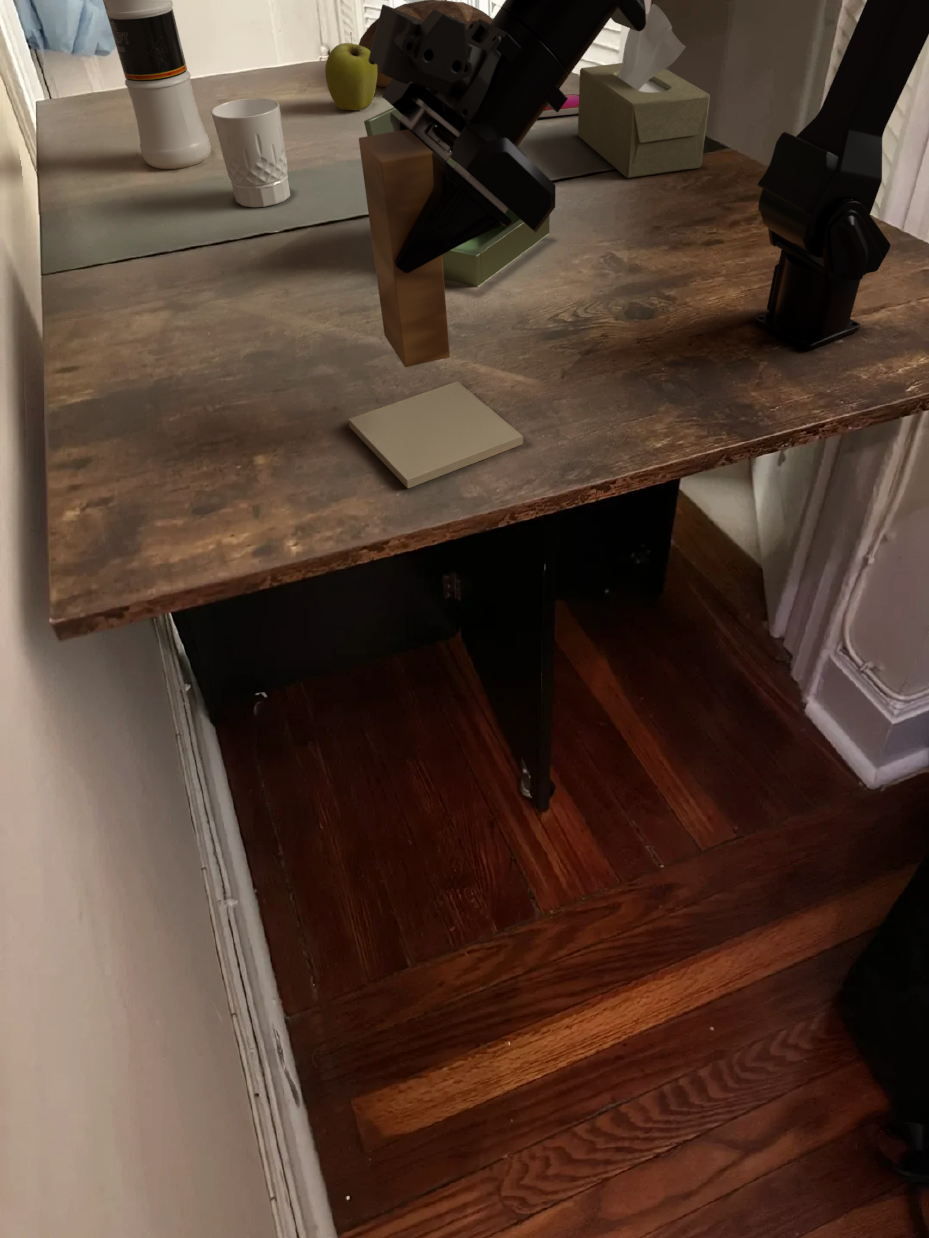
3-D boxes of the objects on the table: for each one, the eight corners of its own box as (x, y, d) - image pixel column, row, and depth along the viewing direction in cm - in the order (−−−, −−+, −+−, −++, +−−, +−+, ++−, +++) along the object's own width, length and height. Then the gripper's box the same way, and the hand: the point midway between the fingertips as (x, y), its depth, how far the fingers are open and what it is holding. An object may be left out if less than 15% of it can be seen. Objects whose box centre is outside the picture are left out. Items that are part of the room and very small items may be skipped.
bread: (375, 104, 135) (366, 29, 129) (345, 65, 154) (336, -3, 147) (534, 82, 139) (534, 8, 133) (486, 47, 158) (484, -20, 151)
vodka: (202, 170, 118) (130, -122, 96) (136, 172, 118) (49, -116, 97) (220, 147, 124) (156, -130, 103) (157, 150, 125) (80, -125, 104)
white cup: (218, 205, 108) (196, 114, 101) (257, 183, 112) (239, 95, 105) (270, 213, 105) (251, 120, 98) (307, 190, 110) (292, 101, 103)
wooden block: (427, 326, 68) (408, 128, 59) (450, 357, 65) (434, 152, 55) (384, 336, 68) (358, 137, 58) (405, 368, 64) (380, 162, 54)
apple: (316, 98, 136) (325, 23, 130) (366, 108, 139) (377, 35, 133) (326, 111, 130) (336, 34, 124) (377, 122, 133) (389, 46, 127)
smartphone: (592, 106, 125) (489, 116, 124) (592, 114, 126) (489, 124, 124) (578, 93, 130) (479, 103, 129) (577, 101, 131) (479, 110, 130)
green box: (549, 240, 94) (549, 204, 92) (477, 294, 86) (476, 256, 83) (474, 226, 98) (472, 191, 96) (398, 277, 90) (394, 239, 87)
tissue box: (702, 169, 107) (722, 15, 96) (627, 180, 106) (638, 25, 95) (644, 126, 121) (655, -14, 109) (576, 135, 119) (581, -5, 108)
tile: (523, 444, 67) (523, 435, 66) (407, 489, 64) (406, 480, 63) (457, 389, 73) (457, 381, 73) (349, 427, 70) (348, 418, 69)
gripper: (395, -76, 56) (264, 140, 62) (501, -36, 44) (324, 232, 49) (511, 49, 64) (384, 232, 69) (632, 114, 51) (464, 333, 56)
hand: (387, 253), depth 61 cm, fingers closed on wooden block, 5 cm apart
